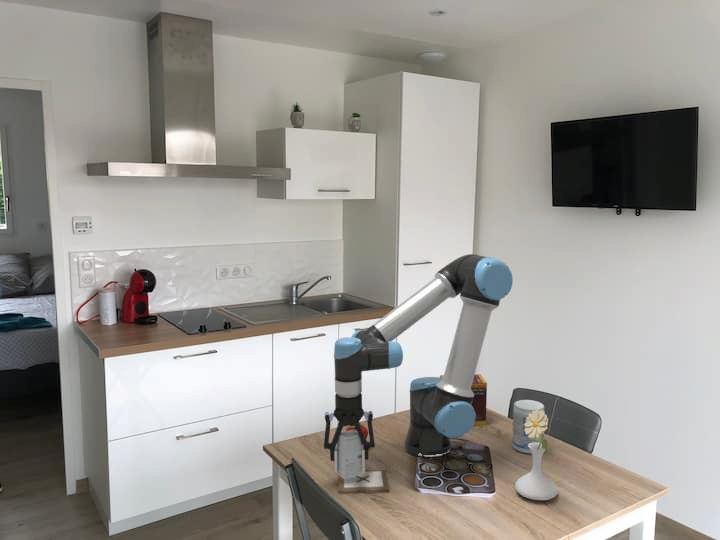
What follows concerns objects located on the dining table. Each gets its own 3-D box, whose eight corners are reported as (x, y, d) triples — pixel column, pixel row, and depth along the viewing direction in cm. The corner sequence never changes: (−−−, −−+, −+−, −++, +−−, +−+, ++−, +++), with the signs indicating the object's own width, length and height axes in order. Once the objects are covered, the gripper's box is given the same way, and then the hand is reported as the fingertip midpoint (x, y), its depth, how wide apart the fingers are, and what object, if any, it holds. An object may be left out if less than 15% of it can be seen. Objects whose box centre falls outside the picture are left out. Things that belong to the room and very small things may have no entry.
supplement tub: (524, 456, 188) (526, 411, 186) (506, 445, 196) (507, 401, 194) (549, 451, 191) (551, 407, 189) (530, 440, 200) (531, 397, 198)
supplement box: (486, 425, 213) (487, 382, 211) (443, 426, 213) (443, 383, 211) (480, 414, 223) (481, 373, 221) (439, 415, 223) (439, 374, 221)
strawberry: (365, 453, 191) (365, 423, 190) (343, 450, 193) (342, 420, 192) (370, 446, 196) (370, 416, 195) (348, 443, 199) (348, 414, 197)
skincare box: (344, 480, 168) (344, 438, 166) (336, 474, 172) (335, 433, 170) (363, 474, 171) (362, 433, 170) (354, 468, 175) (354, 428, 173)
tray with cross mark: (385, 472, 178) (385, 468, 178) (389, 492, 166) (389, 488, 166) (338, 473, 178) (338, 469, 178) (338, 493, 166) (338, 489, 166)
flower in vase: (510, 483, 170) (512, 399, 167) (551, 484, 170) (554, 399, 167) (521, 508, 158) (523, 416, 154) (565, 508, 157) (568, 416, 154)
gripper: (383, 387, 172) (383, 463, 176) (313, 389, 172) (315, 465, 175) (385, 396, 165) (385, 475, 168) (312, 398, 164) (314, 477, 167)
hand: (349, 470), depth 171 cm, fingers closed on skincare box, 7 cm apart
